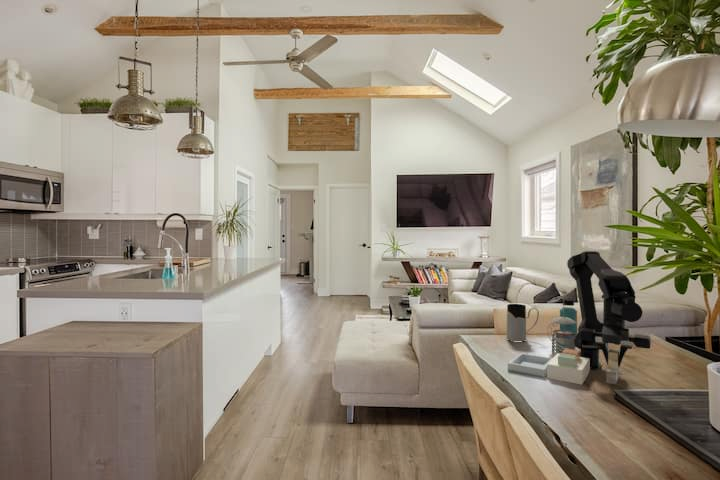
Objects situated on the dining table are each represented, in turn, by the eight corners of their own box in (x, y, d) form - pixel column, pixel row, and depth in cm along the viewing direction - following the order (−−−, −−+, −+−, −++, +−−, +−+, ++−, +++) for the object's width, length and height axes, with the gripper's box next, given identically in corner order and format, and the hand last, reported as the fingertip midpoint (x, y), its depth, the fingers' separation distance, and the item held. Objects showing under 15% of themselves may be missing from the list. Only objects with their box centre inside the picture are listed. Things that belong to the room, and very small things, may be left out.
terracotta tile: (565, 355, 144) (565, 348, 144) (579, 358, 141) (579, 350, 141) (562, 358, 140) (562, 351, 140) (577, 361, 137) (577, 353, 137)
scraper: (611, 370, 137) (611, 345, 137) (620, 371, 135) (620, 346, 135) (606, 382, 125) (606, 355, 125) (615, 384, 124) (616, 357, 124)
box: (520, 359, 154) (520, 352, 154) (554, 365, 147) (554, 358, 147) (507, 370, 142) (507, 363, 142) (543, 377, 135) (543, 369, 135)
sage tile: (560, 360, 138) (560, 353, 138) (575, 363, 135) (576, 355, 135) (557, 364, 134) (557, 356, 134) (573, 366, 132) (573, 359, 132)
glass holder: (502, 337, 187) (502, 303, 186) (533, 336, 188) (533, 303, 187) (510, 342, 178) (510, 307, 178) (543, 342, 179) (543, 306, 179)
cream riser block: (557, 366, 147) (557, 353, 147) (589, 371, 141) (589, 358, 141) (547, 378, 135) (547, 364, 135) (582, 384, 129) (582, 370, 129)
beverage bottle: (580, 351, 164) (581, 300, 164) (563, 351, 164) (563, 300, 164) (572, 347, 171) (573, 298, 170) (556, 347, 171) (556, 298, 170)
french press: (564, 363, 150) (564, 293, 149) (539, 354, 161) (539, 289, 160) (584, 360, 154) (585, 291, 153) (558, 351, 164) (559, 288, 164)
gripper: (575, 315, 129) (575, 366, 129) (649, 323, 118) (649, 379, 118) (581, 310, 138) (581, 357, 138) (651, 317, 127) (650, 368, 127)
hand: (613, 365), depth 130 cm, fingers closed on scraper, 2 cm apart
